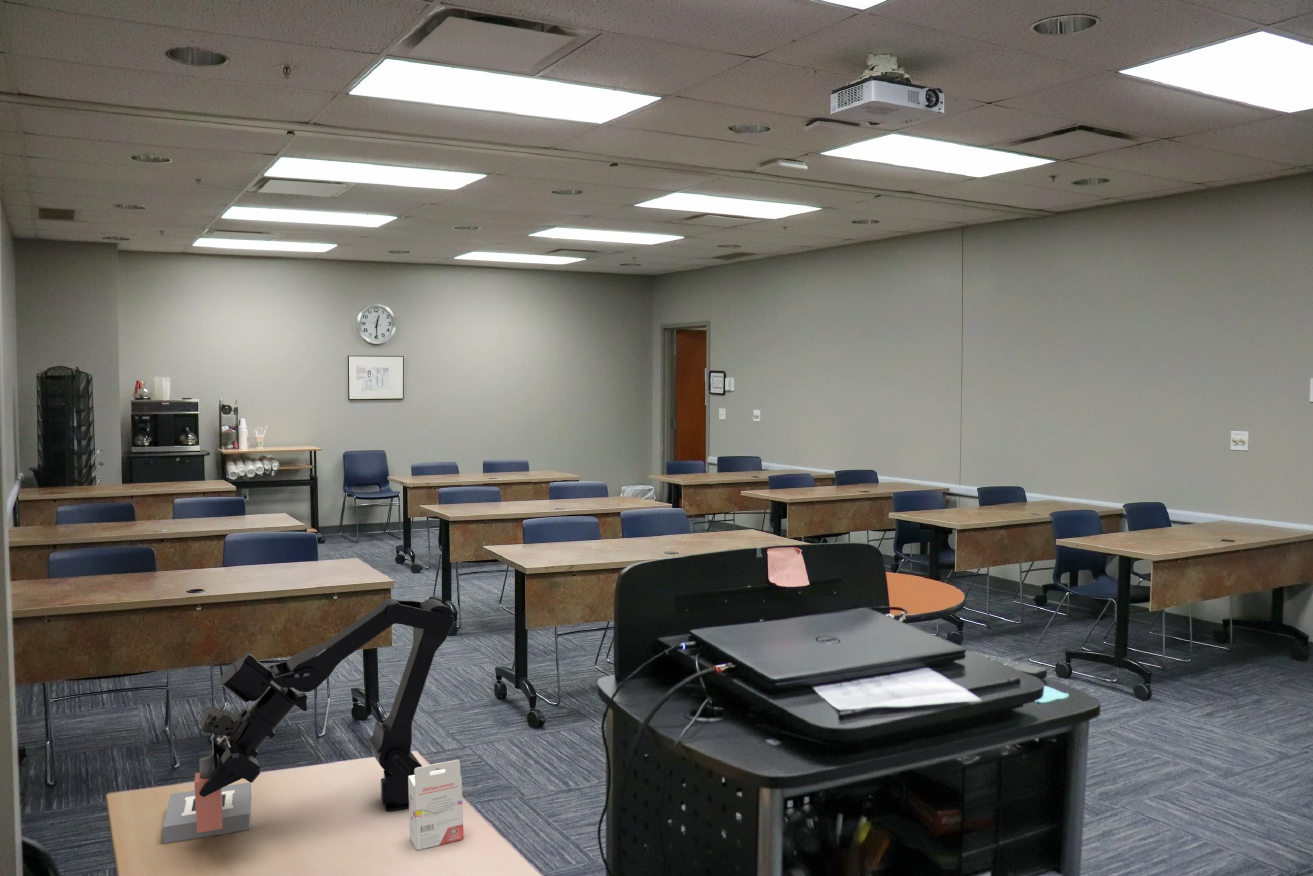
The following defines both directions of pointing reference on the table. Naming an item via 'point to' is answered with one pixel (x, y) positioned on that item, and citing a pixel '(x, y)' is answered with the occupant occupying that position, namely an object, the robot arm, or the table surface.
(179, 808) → the socket plate
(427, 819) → the ink cartridge box
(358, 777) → the table surface
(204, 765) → the plug
